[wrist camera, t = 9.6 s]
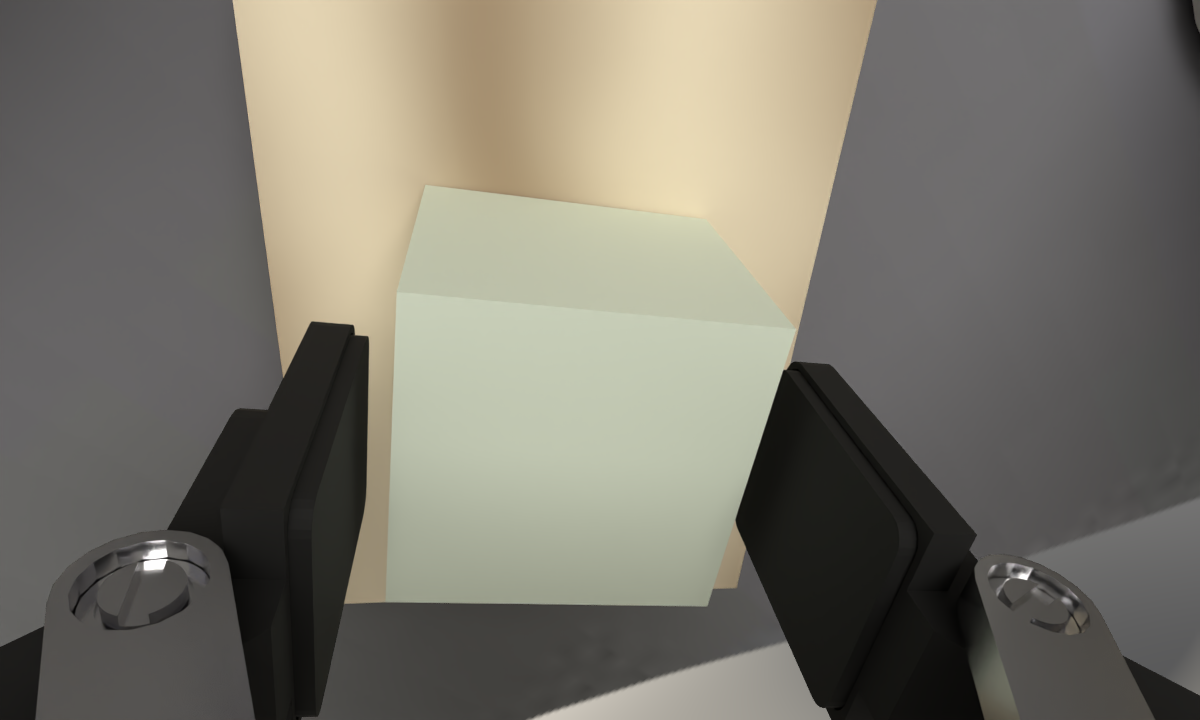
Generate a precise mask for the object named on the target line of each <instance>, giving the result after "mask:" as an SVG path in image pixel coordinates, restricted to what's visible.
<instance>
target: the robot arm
mask: <svg viewBox="0 0 1200 720" xmlns="http://www.w3.org/2000/svg"><path fill="white" fill-rule="evenodd" d="M1192 1H1193V8H1194V15H1195V22H1196V25H1197V28H1198V30H1199V33H1200V0H1192ZM368 385H369V337H368V336H360V335H355V328H354V325H350V324H338V323H326V322H314V321H311V323H310V324H309V326H308V328H307V330H306V333H305V335H304V337H303V339H302V341H301V343H300V345H299V347H298V349H297V351H296V353H295V355H294V357H293V359H292V361H291V363H290V365H289V367H288V370H287V372H286V374H285V376H284V378H283V380H282V382H281V384H280V386H279V388H278V390H277V392H276V394H275V396H274V398H273V400H272V402H271V405H270V407H269V409H268V410H258V409H241V408H240V409H237V410H235V411H234V413H233V414H232V415H231V417H230V419H229V420H228V422H227V424H226V426H225V427H224V429H223V431H222V433H221V435H220V436H219V438H218V440H217V442H216V444H215V445H214V447H213V449H212V451H211V452H210V454H209V456H208V458H207V460H206V461H205V463H204V465H203V467H202V468H201V470H200V472H199V474H198V476H197V477H196V479H195V481H194V483H193V485H192V486H191V488H190V490H189V492H188V493H187V495H186V497H185V499H184V501H183V502H182V504H181V506H180V508H179V509H178V511H177V513H176V515H175V517H174V518H173V520H172V522H171V524H170V526H169V527H168V529H167V530H159V531H149V532H140V533H136V534H133V535H129V536H126V537H122V538H119V539H115V540H112V541H110V542H108V543H106V544H104V545H102V546H100V547H97V548H95V549H93V550H91V551H89V552H88V553H86V554H85V555H83V556H82V557H81V558H79V559H78V560H77V561H75V562H74V563H72V564H71V565H70V566H68V567H67V568H66V570H65V571H64V572H63V573H62V574H61V576H60V577H59V578H58V579H57V580H56V582H55V583H54V584H53V586H52V589H51V592H50V595H49V597H48V600H47V603H46V614H45V624H44V627H41V628H39V629H37V630H35V631H33V632H31V633H29V634H27V635H25V636H23V637H20V638H18V639H16V640H14V641H12V642H10V643H8V644H6V645H4V646H2V647H0V720H301V718H302V717H317V716H318V715H319V712H320V709H321V705H322V701H323V696H324V692H325V687H326V683H327V678H328V674H329V669H330V665H331V660H332V656H333V651H334V647H335V642H336V638H337V633H338V628H339V624H340V619H341V615H342V610H343V606H344V601H345V597H346V592H347V588H348V583H349V579H350V574H351V570H352V565H353V561H354V556H355V551H356V547H357V542H358V538H359V533H360V529H361V524H362V520H363V515H364V510H365V502H366V489H367V438H368ZM735 521H736V526H737V529H738V531H739V533H740V536H741V538H742V540H743V542H744V545H745V547H746V549H747V551H748V554H749V556H750V558H751V560H752V563H753V565H754V567H755V569H756V572H757V574H758V576H759V578H760V581H761V583H762V585H763V587H764V590H765V592H766V594H767V596H768V599H769V601H770V603H771V605H772V608H773V610H774V612H775V614H776V617H777V619H778V621H779V623H780V626H781V628H782V630H783V632H784V635H785V637H786V639H787V641H788V644H789V646H790V648H791V650H792V652H793V655H794V657H795V659H796V662H797V664H798V666H799V668H800V671H801V673H802V675H803V677H804V680H805V682H806V684H807V686H808V688H809V691H810V693H811V695H812V697H813V699H814V701H815V703H816V704H817V705H818V706H819V707H822V708H826V709H827V711H828V714H829V716H830V718H831V720H1200V696H1199V695H1198V694H1196V693H1194V692H1192V691H1190V690H1188V689H1186V688H1184V687H1182V686H1180V685H1178V684H1176V683H1174V682H1172V681H1170V680H1168V679H1166V678H1165V677H1162V676H1161V675H1159V674H1157V673H1155V672H1153V671H1151V670H1149V669H1147V668H1145V667H1143V666H1141V665H1139V664H1138V663H1136V662H1134V661H1132V660H1130V659H1128V658H1126V657H1124V656H1122V654H1121V652H1120V650H1119V648H1118V646H1117V644H1116V642H1115V640H1114V639H1113V636H1112V634H1111V632H1110V631H1109V629H1108V627H1107V625H1106V623H1105V621H1104V619H1103V617H1102V615H1101V613H1100V612H1099V611H1098V609H1097V608H1096V606H1095V605H1094V604H1093V602H1092V601H1091V600H1090V599H1089V598H1088V597H1087V596H1086V595H1085V594H1084V593H1083V592H1082V591H1081V590H1080V589H1079V588H1078V587H1077V586H1075V585H1074V584H1072V583H1071V582H1069V581H1068V580H1067V579H1065V578H1064V577H1062V576H1061V575H1060V574H1058V573H1056V572H1054V571H1052V570H1050V569H1048V568H1046V567H1044V566H1042V565H1041V564H1038V563H1035V562H1033V561H1030V560H1027V559H1024V558H1021V557H1016V556H1011V555H1005V554H999V555H988V556H986V557H984V558H982V559H979V561H978V560H977V559H976V558H975V557H974V555H973V554H972V553H971V552H970V551H969V549H970V547H971V545H972V543H973V541H974V540H975V538H976V536H977V534H976V533H975V532H974V531H973V530H972V529H971V527H970V526H969V525H968V524H967V523H966V522H965V520H964V519H963V518H962V517H961V516H960V515H959V513H958V512H957V511H956V510H955V509H954V508H953V506H952V505H951V504H950V503H949V502H948V501H947V499H946V498H945V497H944V496H943V495H942V494H941V492H940V491H939V490H938V489H937V488H936V487H935V485H934V484H933V483H932V482H931V481H930V480H929V478H928V477H927V476H926V475H925V474H924V473H923V471H922V470H921V469H920V468H919V467H918V466H917V464H916V463H915V462H914V461H913V460H912V459H911V457H910V456H909V455H908V454H907V453H906V452H905V450H904V449H903V448H902V447H901V446H900V445H899V443H898V442H897V441H896V440H895V439H894V438H893V436H892V435H891V434H890V433H889V432H888V431H887V429H886V428H885V427H884V426H883V425H882V424H881V422H880V421H879V420H878V419H877V418H876V417H875V415H874V414H873V413H872V412H871V411H870V410H869V408H868V407H867V406H866V405H865V404H864V403H863V401H862V400H861V399H860V398H859V397H858V396H857V394H856V393H855V392H854V391H853V390H852V389H851V387H850V386H849V385H848V384H847V383H846V382H845V380H844V379H843V378H842V377H841V376H840V375H839V373H838V372H837V371H836V370H835V369H834V368H833V367H832V366H831V365H829V364H818V363H806V362H793V363H791V364H790V365H789V367H788V368H787V370H783V372H782V375H781V379H780V382H779V385H778V388H777V391H776V394H775V397H774V400H773V403H772V407H771V410H770V413H769V416H768V419H767V422H766V425H765V428H764V431H763V435H762V438H761V441H760V444H759V447H758V450H757V453H756V456H755V459H754V462H753V466H752V469H751V472H750V475H749V478H748V481H747V484H746V487H745V490H744V494H743V497H742V500H741V503H740V506H739V509H738V512H737V515H736V518H735Z"/></svg>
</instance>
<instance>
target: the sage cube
mask: <svg viewBox="0 0 1200 720" xmlns="http://www.w3.org/2000/svg"><path fill="white" fill-rule="evenodd" d="M795 332H796V328H795V327H794V326H793V325H792V323H791V322H790V321H789V320H788V319H787V317H786V316H785V315H784V314H783V312H782V311H781V310H780V309H779V308H778V306H777V305H776V304H775V303H774V301H773V300H772V299H771V298H770V297H769V295H768V294H767V293H766V292H765V290H764V289H763V288H762V287H761V286H760V284H759V283H758V282H757V281H756V280H755V278H754V277H753V276H752V275H751V273H750V272H749V271H748V270H747V269H746V267H745V266H744V265H743V264H742V262H741V261H740V260H739V259H738V258H737V256H736V255H735V254H734V253H733V251H732V250H731V249H730V248H729V247H728V245H727V244H726V243H725V242H724V240H723V239H722V238H721V237H720V236H719V234H718V233H717V232H716V231H715V230H714V228H713V227H712V226H711V225H710V223H709V222H708V221H707V220H706V219H701V218H693V217H685V216H677V215H669V214H660V213H652V212H644V211H636V210H628V209H620V208H611V207H603V206H595V205H587V204H579V203H570V202H562V201H554V200H546V199H538V198H530V197H521V196H513V195H505V194H497V193H489V192H481V191H472V190H464V189H456V188H448V187H440V186H431V185H425V188H424V192H423V195H422V199H421V203H420V207H419V210H418V214H417V218H416V222H415V225H414V229H413V233H412V236H411V240H410V244H409V248H408V251H407V255H406V259H405V263H404V266H403V270H402V274H401V278H400V281H399V285H398V289H397V297H396V324H395V352H394V380H393V407H392V435H391V463H390V490H389V518H388V546H387V573H386V601H385V602H415V603H490V604H566V605H641V606H708V602H709V599H710V596H711V593H712V590H713V587H714V584H715V581H716V578H717V574H718V571H719V568H720V565H721V562H722V559H723V556H724V553H725V550H726V546H727V543H728V540H729V537H730V534H731V531H732V528H733V525H734V522H735V518H736V515H737V512H738V509H739V506H740V503H741V500H742V497H743V494H744V490H745V487H746V484H747V481H748V478H749V475H750V472H751V469H752V466H753V462H754V459H755V456H756V453H757V450H758V447H759V444H760V441H761V438H762V435H763V431H764V428H765V425H766V422H767V419H768V416H769V413H770V410H771V407H772V403H773V400H774V397H775V394H776V391H777V388H778V385H779V382H780V379H781V375H782V372H783V369H784V366H785V363H786V360H787V357H788V354H789V351H790V347H791V344H792V341H793V338H794V335H795Z"/></svg>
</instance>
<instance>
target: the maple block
mask: <svg viewBox="0 0 1200 720" xmlns="http://www.w3.org/2000/svg"><path fill="white" fill-rule="evenodd" d="M876 2H877V0H233V6H234V13H235V21H236V28H237V36H238V43H239V51H240V58H241V66H242V73H243V81H244V88H245V95H246V103H247V110H248V118H249V125H250V133H251V140H252V148H253V155H254V163H255V170H256V178H257V185H258V193H259V200H260V208H261V215H262V222H263V230H264V237H265V245H266V252H267V260H268V267H269V275H270V282H271V290H272V297H273V305H274V312H275V320H276V327H277V335H278V342H279V350H280V357H281V364H282V372H283V378H284V376H285V374H286V372H287V370H288V367H289V365H290V363H291V361H292V359H293V357H294V355H295V353H296V351H297V349H298V347H299V345H300V343H301V341H302V339H303V337H304V335H305V333H306V330H307V328H308V326H309V324H310V323H311V321H314V322H326V323H338V324H350V325H354V328H355V335H360V336H368V337H369V385H368V438H367V489H366V502H365V510H364V515H363V520H362V524H361V529H360V533H359V538H358V542H357V547H356V551H355V556H354V561H353V565H352V570H351V574H350V579H349V583H348V588H347V592H346V597H345V601H344V604H351V603H376V602H385V601H386V573H387V546H388V518H389V490H390V463H391V435H392V407H393V380H394V352H395V324H396V297H397V289H398V285H399V281H400V278H401V274H402V270H403V266H404V263H405V259H406V255H407V251H408V248H409V244H410V240H411V236H412V233H413V229H414V225H415V222H416V218H417V214H418V210H419V207H420V203H421V199H422V195H423V192H424V188H425V185H431V186H440V187H448V188H456V189H464V190H472V191H481V192H489V193H497V194H505V195H513V196H521V197H530V198H538V199H546V200H554V201H562V202H570V203H579V204H587V205H595V206H603V207H611V208H620V209H628V210H636V211H644V212H652V213H660V214H669V215H677V216H685V217H693V218H701V219H706V220H707V221H708V222H709V223H710V225H711V226H712V227H713V228H714V230H715V231H716V232H717V233H718V234H719V236H720V237H721V238H722V239H723V240H724V242H725V243H726V244H727V245H728V247H729V248H730V249H731V250H732V251H733V253H734V254H735V255H736V256H737V258H738V259H739V260H740V261H741V262H742V264H743V265H744V266H745V267H746V269H747V270H748V271H749V272H750V273H751V275H752V276H753V277H754V278H755V280H756V281H757V282H758V283H759V284H760V286H761V287H762V288H763V289H764V290H765V292H766V293H767V294H768V295H769V297H770V298H771V299H772V300H773V301H774V303H775V304H776V305H777V306H778V308H779V309H780V310H781V311H782V312H783V314H784V315H785V316H786V317H787V319H788V320H789V321H790V322H791V323H792V325H793V326H794V327H795V328H796V332H795V335H794V338H793V341H792V344H791V347H790V351H789V354H788V357H787V360H786V363H785V366H784V369H783V370H787V368H788V367H789V365H790V362H791V358H792V354H793V349H794V345H795V341H796V337H797V333H798V328H799V324H800V320H801V316H802V312H803V308H804V303H805V299H806V295H807V291H808V287H809V282H810V278H811V274H812V270H813V266H814V262H815V257H816V253H817V249H818V245H819V241H820V236H821V232H822V228H823V224H824V220H825V216H826V211H827V207H828V203H829V199H830V195H831V190H832V186H833V182H834V178H835V174H836V170H837V165H838V161H839V157H840V153H841V149H842V144H843V140H844V136H845V132H846V128H847V124H848V119H849V115H850V111H851V107H852V103H853V99H854V94H855V90H856V86H857V82H858V78H859V73H860V69H861V65H862V61H863V57H864V53H865V48H866V44H867V40H868V36H869V32H870V27H871V23H872V19H873V15H874V11H875V7H876ZM745 550H746V547H745V545H744V542H743V540H742V538H741V536H740V533H739V531H738V529H737V526H736V521H735V522H734V525H733V528H732V531H731V534H730V537H729V540H728V543H727V546H726V550H725V553H724V556H723V559H722V562H721V565H720V568H719V571H718V574H717V578H716V581H715V584H714V587H713V589H723V588H737V584H738V579H739V575H740V571H741V567H742V563H743V558H744V554H745Z"/></svg>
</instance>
